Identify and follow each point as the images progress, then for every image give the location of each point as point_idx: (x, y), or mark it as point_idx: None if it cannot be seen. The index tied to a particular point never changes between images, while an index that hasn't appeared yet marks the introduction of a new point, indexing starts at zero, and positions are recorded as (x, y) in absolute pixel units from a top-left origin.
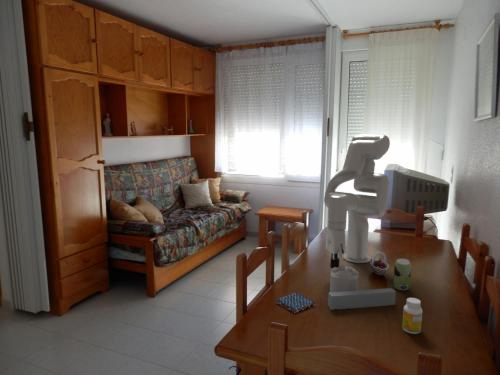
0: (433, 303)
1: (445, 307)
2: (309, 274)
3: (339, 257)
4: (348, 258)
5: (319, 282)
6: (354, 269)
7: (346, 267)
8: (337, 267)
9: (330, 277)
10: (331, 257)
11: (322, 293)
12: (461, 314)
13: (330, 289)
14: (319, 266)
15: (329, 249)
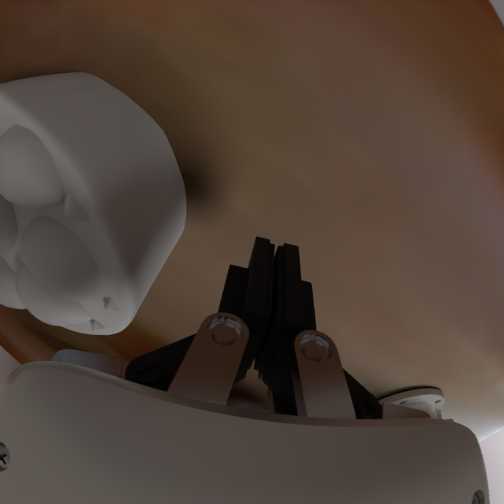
0: (33, 350)
1: (22, 350)
2: (425, 102)
3: (57, 354)
4: (410, 401)
5: (251, 69)
6: (69, 328)
7: (102, 312)
8: (106, 244)
9: (15, 84)
10: (297, 337)
11: (86, 22)
12: (6, 345)
13: (63, 73)
14: (472, 260)
15: (255, 462)
